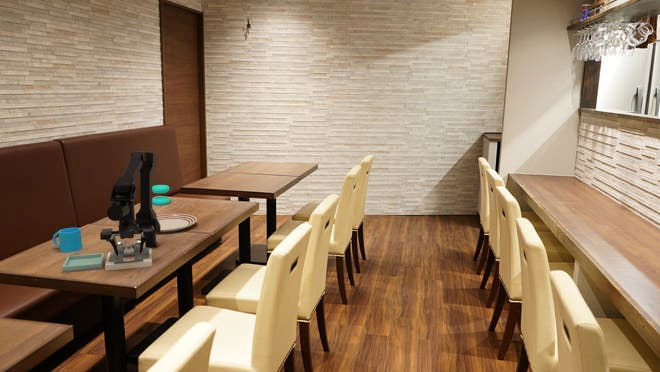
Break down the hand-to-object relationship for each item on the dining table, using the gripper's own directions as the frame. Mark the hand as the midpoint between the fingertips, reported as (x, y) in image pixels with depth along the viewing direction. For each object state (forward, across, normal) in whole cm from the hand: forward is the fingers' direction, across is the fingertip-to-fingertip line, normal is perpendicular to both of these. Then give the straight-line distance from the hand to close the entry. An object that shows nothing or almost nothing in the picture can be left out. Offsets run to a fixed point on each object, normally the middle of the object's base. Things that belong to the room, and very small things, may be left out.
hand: (129, 254), depth 202 cm
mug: (+4, -25, +26) cm, 36 cm away
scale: (+3, 0, +2) cm, 4 cm away
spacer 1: (0, -4, +6) cm, 7 cm away
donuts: (+4, +13, +102) cm, 103 cm away
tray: (+3, -16, +2) cm, 17 cm away
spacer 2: (0, 0, 0) cm, 0 cm away
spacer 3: (0, +4, +6) cm, 7 cm away
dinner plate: (+4, +15, +50) cm, 52 cm away
